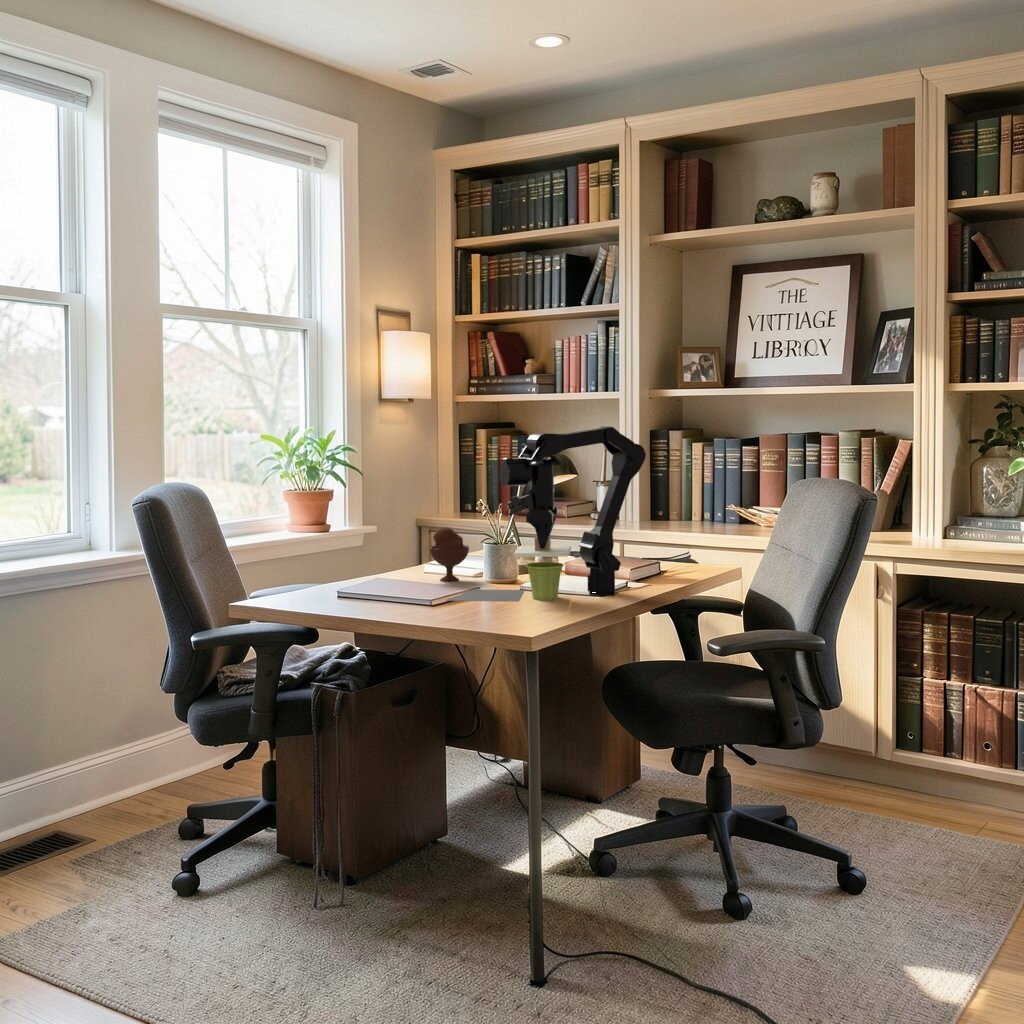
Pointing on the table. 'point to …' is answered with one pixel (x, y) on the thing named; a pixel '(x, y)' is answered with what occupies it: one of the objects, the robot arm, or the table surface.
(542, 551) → the sage lid
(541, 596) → the plant pot
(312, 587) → the table surface
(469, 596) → the gray flat panel
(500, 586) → the table surface
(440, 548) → the ice cream bowl
